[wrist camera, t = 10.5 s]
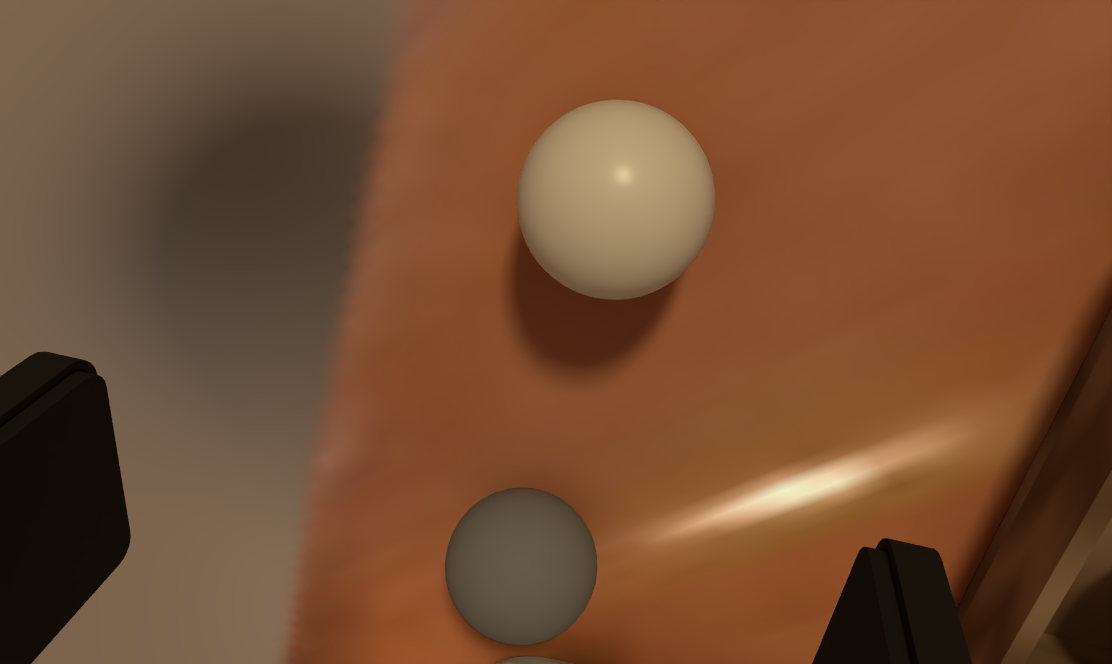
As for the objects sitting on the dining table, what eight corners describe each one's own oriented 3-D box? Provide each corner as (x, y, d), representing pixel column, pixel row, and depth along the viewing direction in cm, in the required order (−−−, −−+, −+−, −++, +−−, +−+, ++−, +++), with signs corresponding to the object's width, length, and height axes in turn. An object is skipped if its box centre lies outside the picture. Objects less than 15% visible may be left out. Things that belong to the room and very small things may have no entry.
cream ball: (696, 270, 25) (686, 353, 20) (530, 236, 25) (485, 311, 21) (737, 98, 22) (734, 152, 18) (551, 65, 23) (505, 110, 18)
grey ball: (595, 582, 31) (571, 695, 27) (464, 550, 32) (420, 656, 27) (618, 476, 29) (595, 582, 24) (475, 444, 29) (428, 542, 25)
